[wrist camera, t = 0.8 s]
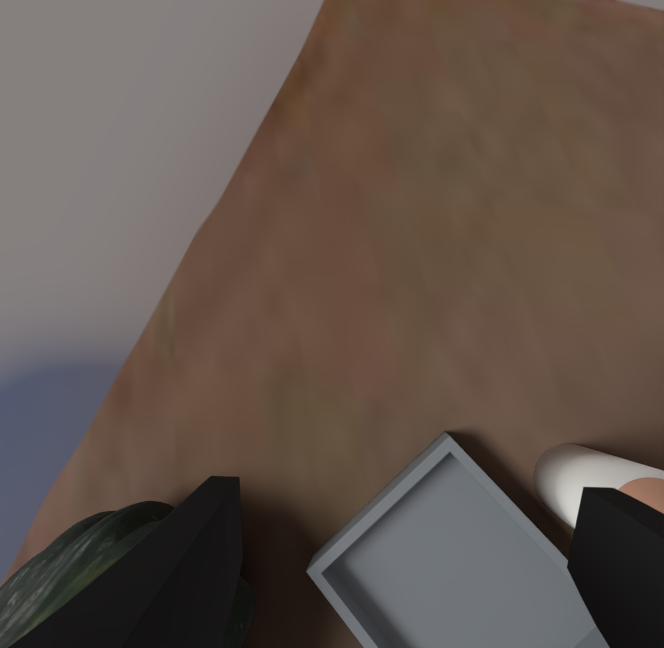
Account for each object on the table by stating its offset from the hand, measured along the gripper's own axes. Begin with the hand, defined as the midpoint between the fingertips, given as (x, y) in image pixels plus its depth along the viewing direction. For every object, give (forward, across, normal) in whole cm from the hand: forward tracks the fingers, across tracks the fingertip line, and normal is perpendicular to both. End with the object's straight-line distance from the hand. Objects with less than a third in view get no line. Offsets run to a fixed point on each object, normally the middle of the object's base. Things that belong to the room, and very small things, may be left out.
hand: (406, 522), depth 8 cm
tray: (+14, -7, +17) cm, 23 cm away
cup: (+16, -15, +10) cm, 24 cm away
